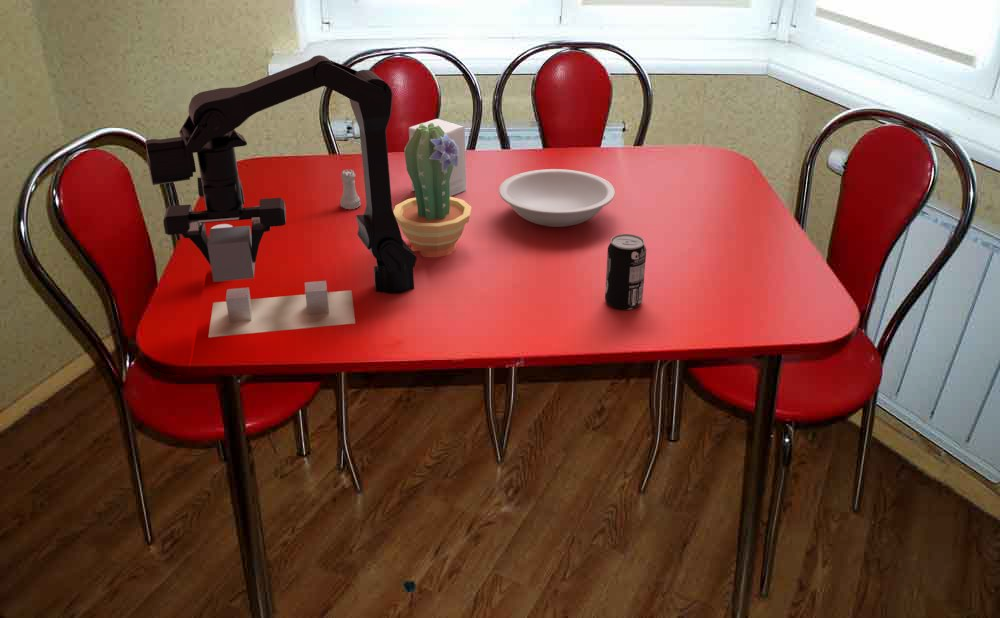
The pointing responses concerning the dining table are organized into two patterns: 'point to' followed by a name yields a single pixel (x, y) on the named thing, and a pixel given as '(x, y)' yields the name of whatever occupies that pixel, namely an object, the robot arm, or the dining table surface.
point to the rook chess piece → (349, 191)
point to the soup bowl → (556, 196)
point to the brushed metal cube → (239, 305)
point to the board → (283, 315)
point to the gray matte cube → (231, 253)
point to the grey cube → (316, 297)
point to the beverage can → (625, 271)
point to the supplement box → (459, 172)
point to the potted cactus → (432, 194)
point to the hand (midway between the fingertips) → (233, 263)
